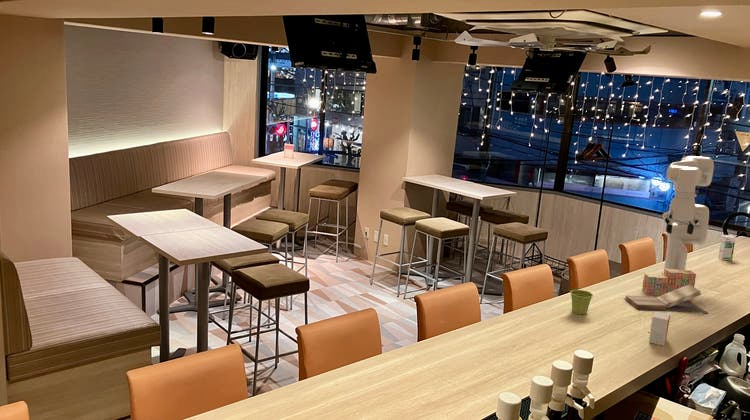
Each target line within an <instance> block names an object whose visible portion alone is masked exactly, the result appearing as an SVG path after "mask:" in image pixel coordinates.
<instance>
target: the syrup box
mask: <svg viewBox="0 0 750 420" xmlns="http://www.w3.org/2000/svg"><path fill="white" fill-rule="evenodd" d="M735 243H736V236H734V235H731V234H730V235H729V234H721V238H720V245H719V249H718V250H719V252H718V259H720V258H721V259H722V261H731V260H732V261H733V256H734V250H735ZM721 259H720V260H721Z"/></svg>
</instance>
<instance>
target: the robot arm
mask: <svg viewBox="0 0 750 420" xmlns="http://www.w3.org/2000/svg"><path fill="white" fill-rule="evenodd" d="M714 167H715V163H714V160H713V159H712V158H711V157H708V156H696V155H688V156H685V157H683V158H682V159H681V160H680V161H675V162H672V163H670V164H669V165H668V168H667V171H666V179H667V181H669V182H671V183H672V184H673V188H674V192H675V193H674V197H672V199H671V201H670V205H669V209H668V211H666V212H664V213H662V215H661V216H662V218H663V221H664V222H665V224H666V227H665V232H666V233H667V244H666V252H665V259H664V260H665V261H664V268H663V270H664V269H677V270H678V269H681V270H686V267H687V261H688V260H687V259H688V249H687V247H686V246H685V245H684V244H690V245H704V244H705V243H706V240H707V235H708V227H709V221H710V209H709V207H708V206H706V205H703V204H697V203H696V200H695V198H696V197H697V193H696V187H708V186H710V185H711V183H712V180H713V175H714ZM661 274H662V275H664V271H663V272H661Z"/></svg>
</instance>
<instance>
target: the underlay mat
mask: <svg viewBox="0 0 750 420" xmlns="http://www.w3.org/2000/svg"><path fill="white" fill-rule="evenodd" d="M625 299H626V297H624V298H623V300H625ZM626 302H627V303H629V302H628V301H626ZM631 306H632V307H634V306H633V305H631ZM635 309H636V310H638V311H639V312H655V311H656V312H662V313H666V312H667V313H668V312H669V313H670V312H671V313H697V314H698V313H700V314H703V315H704V314H706V315H709V312H708V311H706V310H705V309H704V308H702V307H700V306H698V305H697V304H695V303H694V302H692V301H690V299H689V300H687V301H684V302H682V303H679V304H676V305H674V306H671V307H669V308H666V310H652V309H637V308H635Z"/></svg>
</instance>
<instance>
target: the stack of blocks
mask: <svg viewBox="0 0 750 420" xmlns="http://www.w3.org/2000/svg"><path fill="white" fill-rule="evenodd" d="M663 272H664V275H662V273H647V272H646V273H644V276H643V281H642V287H641V288H642V292H643V293H645V294H646V295H652V296H654V295H655V296H661V295H663V294H666V293H668V292H671V291H673V290H676V289H679V288H681V287H684V286H686V285H691V286H693V287H694V288H695V286H696V277H697V274H696V273H695V272H693V271H692V270H689V269H688V270H687V269H685V270H681V269H678V270H677V269H664V268H663Z"/></svg>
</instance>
